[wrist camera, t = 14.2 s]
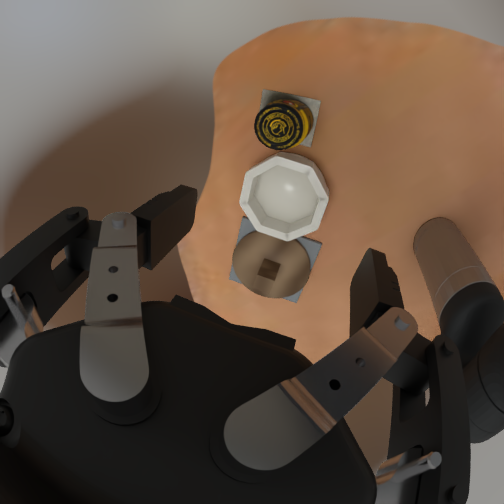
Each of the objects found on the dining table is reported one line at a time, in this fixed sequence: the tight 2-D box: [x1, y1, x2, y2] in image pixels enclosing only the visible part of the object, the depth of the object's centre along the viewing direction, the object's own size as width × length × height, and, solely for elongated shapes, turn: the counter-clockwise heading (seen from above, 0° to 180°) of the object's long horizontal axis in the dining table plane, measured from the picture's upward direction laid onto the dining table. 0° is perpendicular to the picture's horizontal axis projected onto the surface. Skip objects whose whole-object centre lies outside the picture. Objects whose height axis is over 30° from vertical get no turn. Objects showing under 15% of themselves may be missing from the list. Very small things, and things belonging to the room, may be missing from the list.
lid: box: [232, 230, 311, 298], centre depth 47 cm, size 14×14×6 cm
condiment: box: [254, 89, 321, 150], centre depth 31 cm, size 7×8×12 cm
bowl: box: [239, 151, 329, 241], centre depth 40 cm, size 12×12×5 cm
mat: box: [229, 216, 322, 303], centre depth 49 cm, size 14×14×1 cm
